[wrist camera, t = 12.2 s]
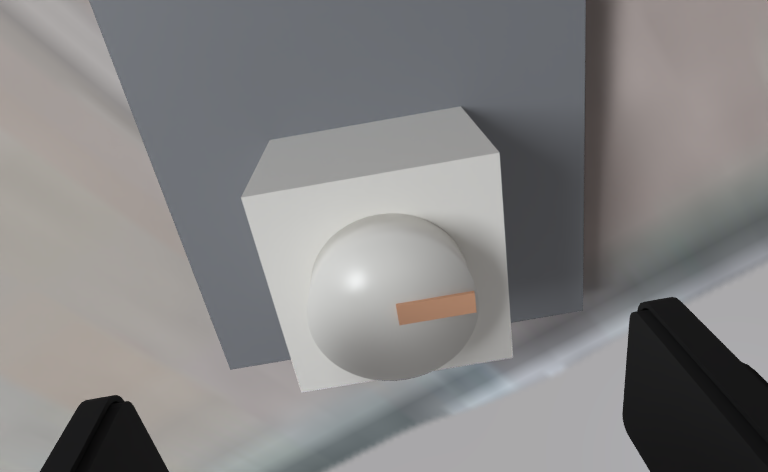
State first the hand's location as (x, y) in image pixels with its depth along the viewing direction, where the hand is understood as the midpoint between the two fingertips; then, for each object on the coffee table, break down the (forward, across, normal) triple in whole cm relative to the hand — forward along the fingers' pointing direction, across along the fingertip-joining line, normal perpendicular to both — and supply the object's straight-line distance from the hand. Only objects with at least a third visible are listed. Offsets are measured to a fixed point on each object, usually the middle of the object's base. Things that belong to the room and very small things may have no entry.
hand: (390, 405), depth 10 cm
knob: (+10, 0, +1) cm, 10 cm away
